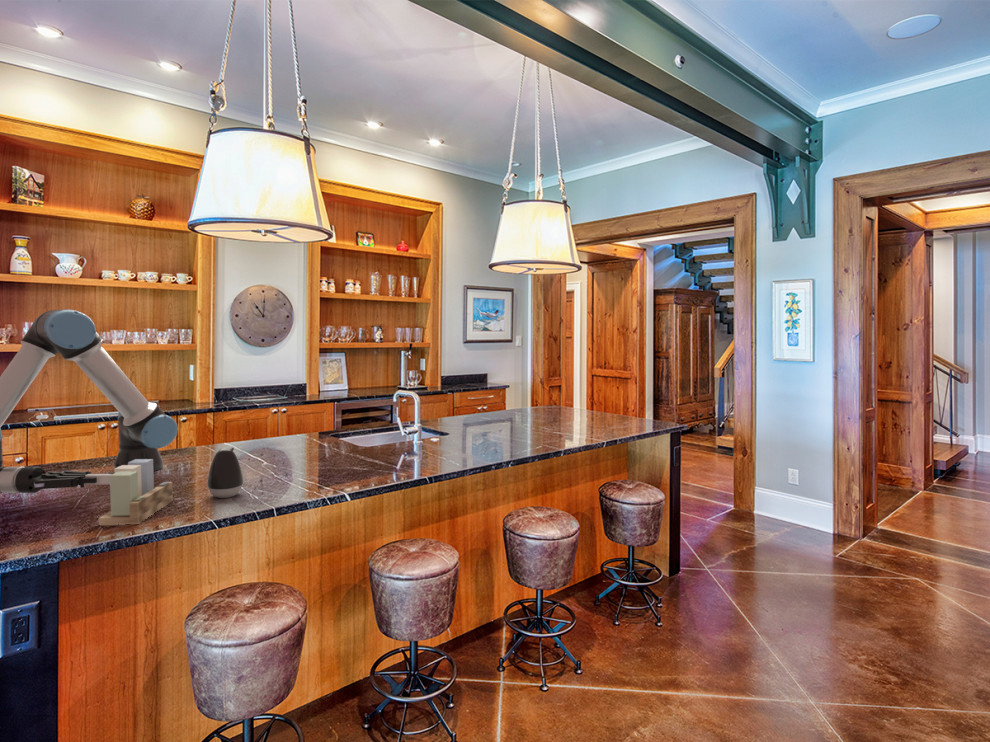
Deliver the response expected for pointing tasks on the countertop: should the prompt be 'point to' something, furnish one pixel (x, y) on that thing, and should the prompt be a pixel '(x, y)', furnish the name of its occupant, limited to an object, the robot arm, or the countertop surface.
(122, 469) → the cream rectangular block
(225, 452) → the pump dispenser
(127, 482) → the pale green tall block
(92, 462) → the countertop surface
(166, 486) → the wooden key holder base
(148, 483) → the slate key
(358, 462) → the countertop surface
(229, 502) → the countertop surface
